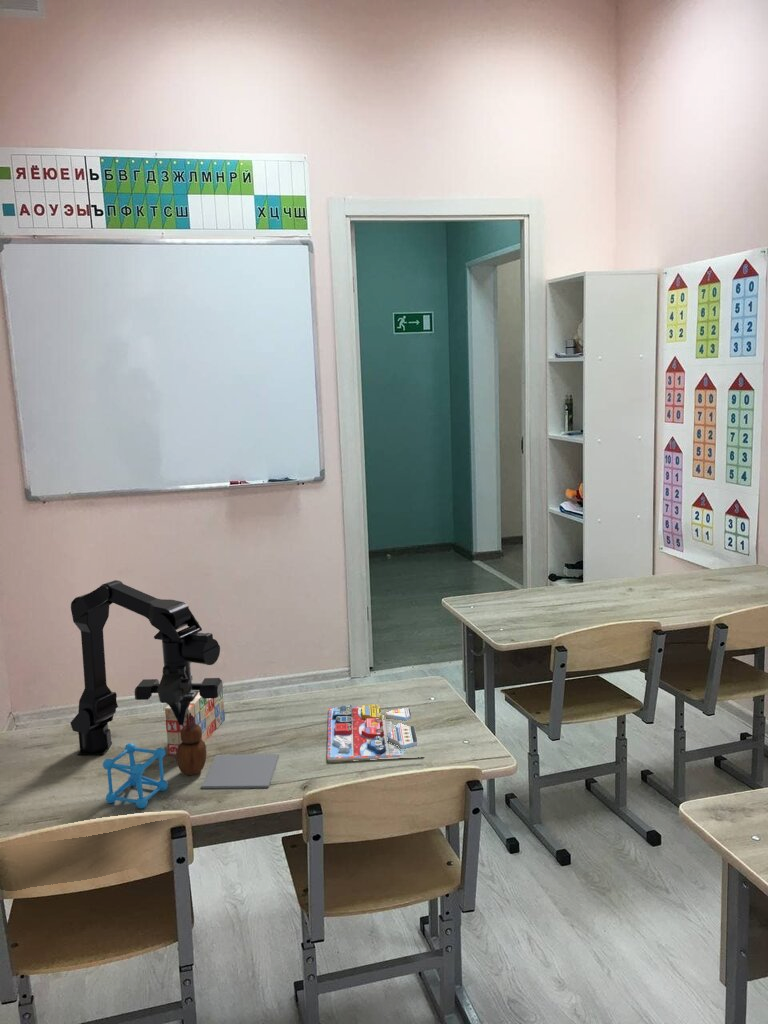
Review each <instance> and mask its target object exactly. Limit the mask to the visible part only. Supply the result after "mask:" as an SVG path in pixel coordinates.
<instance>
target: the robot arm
mask: <svg viewBox="0 0 768 1024" xmlns="http://www.w3.org/2000/svg"><path fill="white" fill-rule="evenodd" d="M113 604H115V605H117V606H120V607H122V608H124V609H127V610H129V611H131V612H132V613H136V614H137V615H140V616H143V618H146V619H147V620H148V621H149V623H150V625H151V626H152V627H153V628H155V629H157V630H158V632H157V633H156V634H155V635H154V636H153V638H154V640H159V641H161V644H162V645H161V646H162V657H163V667H162V675H161V679H160V681H159V679H157V678H155V679H154V678H153V679H151V678H150V679H149V678H147V679H145V678H144V679H142V680H141V681H140V682H139V684H137V686H136V687H135V688H134V699H135V700H136V701H142V700H143V701H144V700H145V701H146V700H149V699H150V698H151V697H152V695H153V694H158V699H159V702H160V703H162V704H167V706H168V705H169V706H170V707H171V709H172V711H173V713H174V715H175V717H176V719H177V721H178V723H179V725H183V724H184V722H185V718H186V715H187V711H188V708H189V705H190V702H192V701H193V700H194V699H195V697H196V696H197V694H198V692H200V696H201V697H202V698H217V697H218V696H219V694H220V693H221V691H222V689H224V686H223V684H224V683H223V680H222V679H221V678H220V677H206V678H204V679H203V680H202V682H200V683H197V682H196V683H193V682H192V681H193V680H194V679H193V675H192V670H191V664H192V663H194V664H199V665H206V666H213V665H214V664H215V663H216V662H217V661H218V659H219V657H220V653H221V645H220V644H219V642H218V641H217V640H216V639H214V638H213V636H214V635H213V633H210V632H206V633H203V632H202V631H203V629H202V627H201V625H200V623H199V621H197V619H196V618H195V617H196V616H195V615H194V614H193V612H192V611H191V609H190V608H189V605H188V604H187V603H186V602H184V601H180V600H177V599H176V600H175V599H163V598H157V597H155V596H152V595H150V594H148V593H145V592H143V591H141V590H138V589H136V588H134V587H132V586H129V585H126V584H125V583H123V582H122V581H121V580H116V579H115V580H112V581H108V582H105V583H102V584H101V585H100V586H99V587H98V588H96V589H94V590H92V591H90V592H88V593H85V594H83V595H80V596H76V597H75V598H73V600H72V601H71V602H70V612H71V616H72V621H73V624H74V625H76V627H77V628H78V630H79V631H80V637H81V639H80V640H81V651H82V652H81V653H82V663H83V664H82V666H83V678H84V690H83V692H82V694H81V696H80V698H79V701H78V713H77V714H76V715H75V717H74V718H73V719H72V720H71V721H70V726H71V729H72V731H73V732H76V733H77V734H78V745H79V750H78V751H77V753H76V754H77V755H78V756H103V755H105V754H106V752H107V751H108V749H110V747H111V745H112V744H113V741H112V736H111V735H112V734H111V729H110V728H109V723H110V722H112V721H113V720H114V714H116V712H117V708H118V707H119V706H118V703H117V693H116V691H112V690H111V689H110V688H109V686H108V685H107V673H106V672H107V671H106V658H105V657H106V656H105V655H106V654H105V641H104V640H105V639H104V627H105V625H106V624H107V621H108V619H109V616H110V615H109V614H110V606H111V605H113ZM186 626H187V627H186ZM184 627H185V628H184ZM183 628H184V629H183ZM179 629H181V630H179ZM177 630H178V631H177Z"/></svg>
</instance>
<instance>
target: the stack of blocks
mask: <svg viewBox="0 0 768 1024" xmlns="http://www.w3.org/2000/svg"><path fill="white" fill-rule="evenodd" d="M223 689H224V688H223ZM223 689H222V691H221V693H220V694H219V696H218V697H217V698H202V697H201V696H200V692H198V694H197V696H196V697H195V699H194V700H193V701H192V702H190V705H189V708H188V711H187V713H188V715H189V714H190V713H191V715H193V717H195V723H196V724H197V725H199V726H200V727H201V729H202V737H201V739H202V740H203V741H204V742H205V743H206V742H207V741H208V739H209V738H210V737H211V736H212V734H214V732H215V731H216V730H217V729H218V728H219V726H221V725H222V723H223V722H224V721H226V720H225V719H226V715H225V701H224V700H225V699H224V693H223ZM164 713H165V729H166V736H167V737H166V740H167V754H168V756H176V753H177V748H178V746H179V745H180V744H181V743H182V740H181V729H182V728H183V727H184V726H185V725H186V722H187V715H186V718H185V722H184V724H183V725H179V723H178V721H177V719H176V717H175V715H174V713H173V711H172V709H171V707H170V706H169V705H168V704H167V706H166V707H164Z"/></svg>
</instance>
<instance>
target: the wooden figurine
mask: <svg viewBox="0 0 768 1024" xmlns="http://www.w3.org/2000/svg"><path fill="white" fill-rule="evenodd" d="M201 737H202V729H201V727H200V726H199V725H197V724H196V723H195V717H193V715H191V713H190V714H189V715H188V713H187V722H186V725H185V726H184V727H183V728H182V729H181V740H182V743H181V744H180V745H179V746H178V748H177V753H176V755H175V757H176V758H175V759H176V763H177V767H178V770H180V772H181V773H182V775H185V776H193V775H198V774H199V773H201V771H202V770H203V769H204V767H205V765H206V762H207V745H206V742H204V741H203V740H202V739H201Z"/></svg>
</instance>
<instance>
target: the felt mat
mask: <svg viewBox="0 0 768 1024" xmlns="http://www.w3.org/2000/svg"><path fill="white" fill-rule="evenodd" d="M279 757H280V754H279V753H268V754H267V753H263V754H262V753H260V754H259V753H257V754H256V753H255V754H254V753H251V754H249V753H248V754H245V753H244V754H216V755H215V757H214V759H213V762H212V763H211V765H210V767H209V770H208V771H207V773H206V775H205V778H204V780H203V782H202V783H201V785H200V788H201V789H251V788H252V789H253V788H254V789H255V788H258V789H261V788H262V789H264V788H267V789H269V788H270V784H271V782H272V778H273V775H274V772H275V770H276V767H277V764H278V761H279Z"/></svg>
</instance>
